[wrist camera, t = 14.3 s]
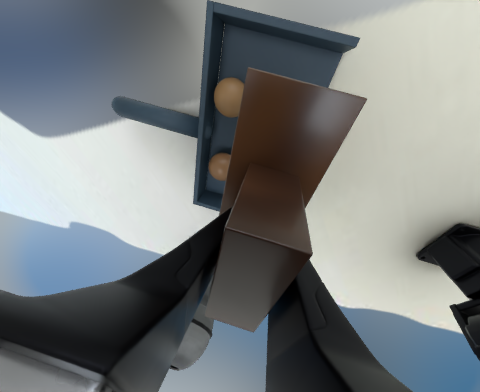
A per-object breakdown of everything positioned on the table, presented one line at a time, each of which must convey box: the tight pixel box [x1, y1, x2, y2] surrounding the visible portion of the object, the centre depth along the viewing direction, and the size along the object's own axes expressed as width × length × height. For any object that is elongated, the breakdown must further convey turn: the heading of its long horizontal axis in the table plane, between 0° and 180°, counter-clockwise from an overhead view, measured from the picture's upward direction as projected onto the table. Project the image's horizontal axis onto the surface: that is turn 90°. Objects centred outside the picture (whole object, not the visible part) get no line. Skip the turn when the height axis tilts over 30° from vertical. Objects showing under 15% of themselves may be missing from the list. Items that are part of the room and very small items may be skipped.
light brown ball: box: [214, 77, 244, 118], centre depth 16 cm, size 3×3×3 cm
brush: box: [205, 67, 367, 332], centre depth 9 cm, size 4×13×7 cm, turn 168°
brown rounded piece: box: [209, 153, 231, 181], centre depth 20 cm, size 3×3×3 cm
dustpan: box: [112, 0, 360, 212], centre depth 18 cm, size 20×18×3 cm
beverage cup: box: [170, 274, 214, 370], centre depth 24 cm, size 7×7×20 cm
